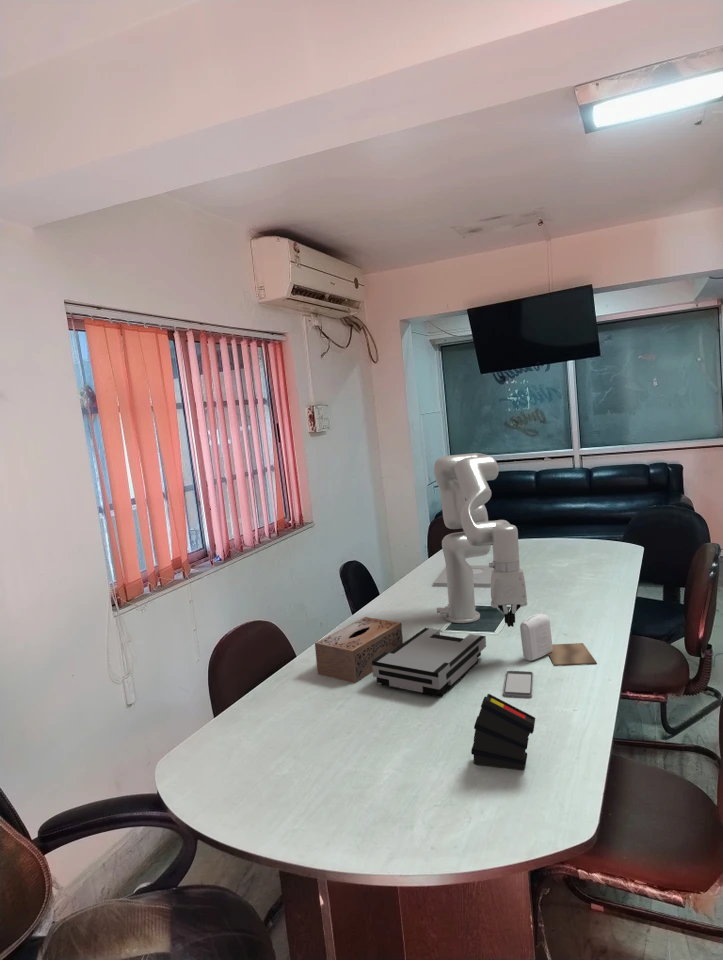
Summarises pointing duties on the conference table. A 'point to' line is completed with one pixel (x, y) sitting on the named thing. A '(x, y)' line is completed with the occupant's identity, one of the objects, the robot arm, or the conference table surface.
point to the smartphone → (518, 684)
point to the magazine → (501, 735)
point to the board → (571, 654)
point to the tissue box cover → (356, 648)
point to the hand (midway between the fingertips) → (510, 625)
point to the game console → (429, 662)
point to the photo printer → (536, 636)
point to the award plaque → (479, 577)
